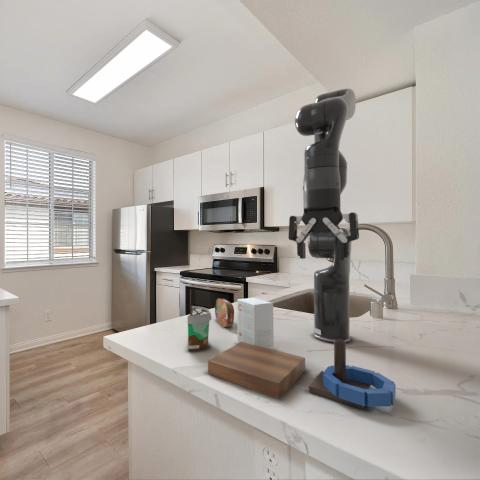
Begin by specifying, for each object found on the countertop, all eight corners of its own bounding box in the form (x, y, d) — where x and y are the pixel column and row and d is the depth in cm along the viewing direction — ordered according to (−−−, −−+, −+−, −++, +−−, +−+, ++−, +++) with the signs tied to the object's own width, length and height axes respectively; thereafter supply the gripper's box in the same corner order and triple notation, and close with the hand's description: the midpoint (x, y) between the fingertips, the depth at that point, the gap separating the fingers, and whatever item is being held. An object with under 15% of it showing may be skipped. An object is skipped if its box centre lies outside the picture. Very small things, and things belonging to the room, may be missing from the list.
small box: (274, 350, 81) (273, 302, 80) (254, 354, 78) (254, 304, 78) (255, 341, 88) (254, 297, 88) (236, 343, 86) (236, 298, 86)
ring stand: (321, 376, 66) (321, 330, 66) (370, 389, 60) (370, 339, 60) (308, 391, 59) (308, 341, 59) (362, 409, 53) (362, 352, 53)
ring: (332, 371, 65) (332, 360, 65) (397, 389, 58) (397, 376, 58) (317, 391, 57) (317, 378, 57) (390, 414, 50) (390, 400, 50)
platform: (241, 352, 80) (241, 341, 80) (305, 370, 69) (305, 357, 69) (208, 373, 68) (207, 360, 68) (278, 398, 57) (278, 383, 57)
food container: (211, 355, 78) (210, 317, 78) (187, 353, 79) (187, 316, 79) (212, 339, 90) (212, 306, 90) (192, 337, 91) (191, 305, 91)
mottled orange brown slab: (214, 318, 113) (214, 296, 113) (222, 317, 113) (222, 295, 113) (226, 330, 98) (226, 305, 98) (235, 330, 98) (235, 304, 98)
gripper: (360, 187, 67) (361, 259, 67) (294, 193, 77) (295, 256, 77) (354, 183, 61) (355, 262, 62) (284, 191, 71) (284, 259, 71)
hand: (322, 259), depth 69 cm, fingers open, 8 cm apart
